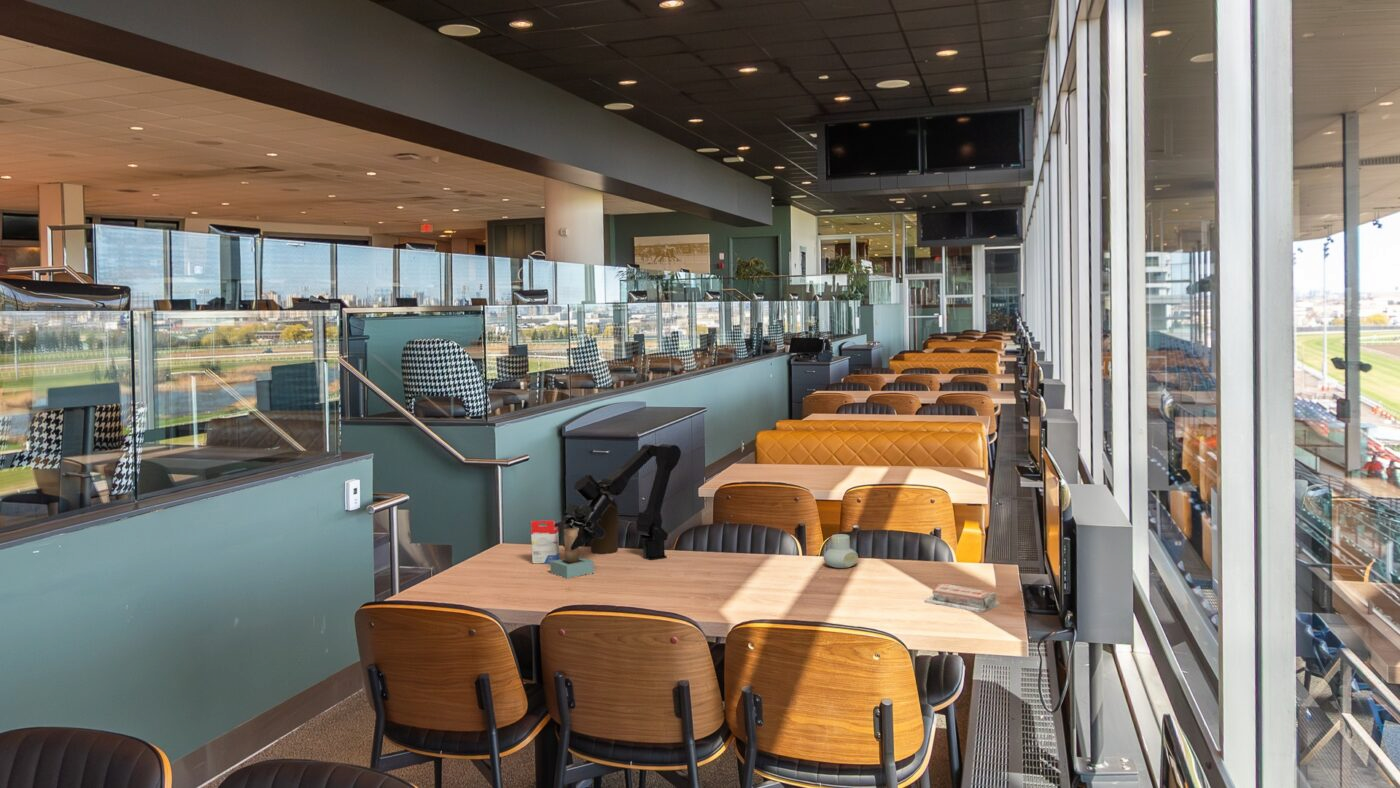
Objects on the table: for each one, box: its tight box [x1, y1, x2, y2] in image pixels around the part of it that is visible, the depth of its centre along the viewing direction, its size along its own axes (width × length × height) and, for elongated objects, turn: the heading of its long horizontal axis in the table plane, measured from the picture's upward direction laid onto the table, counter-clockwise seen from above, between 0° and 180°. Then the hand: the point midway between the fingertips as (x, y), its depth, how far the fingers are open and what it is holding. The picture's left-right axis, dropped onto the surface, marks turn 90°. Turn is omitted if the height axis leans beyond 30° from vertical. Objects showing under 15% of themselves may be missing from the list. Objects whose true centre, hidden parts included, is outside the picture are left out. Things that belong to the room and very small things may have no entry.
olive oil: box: [588, 479, 619, 555], centre depth 375 cm, size 11×11×25 cm
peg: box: [563, 527, 580, 564], centre depth 342 cm, size 4×4×12 cm
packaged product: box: [923, 583, 1000, 614], centre depth 293 cm, size 18×5×10 cm
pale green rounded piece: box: [823, 533, 859, 569], centre depth 342 cm, size 11×8×10 cm
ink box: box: [530, 520, 561, 564], centre depth 360 cm, size 8×5×15 cm, turn 84°
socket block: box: [550, 556, 595, 579], centre depth 343 cm, size 10×10×4 cm
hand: (567, 548), depth 341 cm, fingers closed on peg, 4 cm apart
